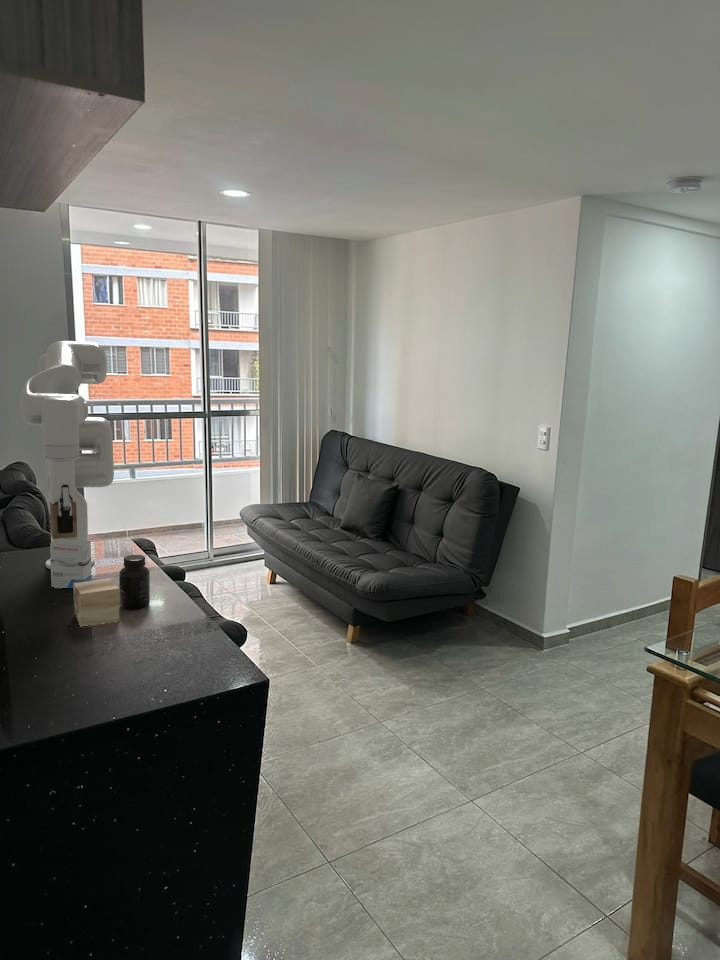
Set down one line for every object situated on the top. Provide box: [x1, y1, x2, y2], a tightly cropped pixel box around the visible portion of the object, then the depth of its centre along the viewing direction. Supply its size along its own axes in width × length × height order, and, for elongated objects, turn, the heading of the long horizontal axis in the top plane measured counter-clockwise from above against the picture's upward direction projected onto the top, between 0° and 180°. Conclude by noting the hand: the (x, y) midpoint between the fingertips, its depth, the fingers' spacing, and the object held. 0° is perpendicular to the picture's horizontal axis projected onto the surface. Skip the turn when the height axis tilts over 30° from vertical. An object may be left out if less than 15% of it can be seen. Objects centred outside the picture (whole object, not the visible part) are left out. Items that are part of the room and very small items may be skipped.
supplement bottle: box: [118, 554, 151, 611], centre depth 154 cm, size 7×7×12 cm
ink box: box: [49, 539, 93, 589], centre depth 166 cm, size 8×5×12 cm, turn 84°
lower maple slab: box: [74, 602, 120, 628], centre depth 146 cm, size 8×8×4 cm
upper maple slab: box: [72, 577, 120, 612], centre depth 146 cm, size 8×8×4 cm
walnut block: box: [49, 500, 77, 539], centre depth 150 cm, size 5×5×8 cm
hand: (63, 528), depth 151 cm, fingers closed on walnut block, 5 cm apart
